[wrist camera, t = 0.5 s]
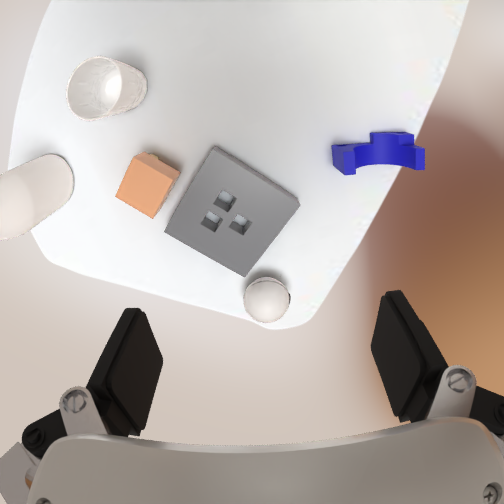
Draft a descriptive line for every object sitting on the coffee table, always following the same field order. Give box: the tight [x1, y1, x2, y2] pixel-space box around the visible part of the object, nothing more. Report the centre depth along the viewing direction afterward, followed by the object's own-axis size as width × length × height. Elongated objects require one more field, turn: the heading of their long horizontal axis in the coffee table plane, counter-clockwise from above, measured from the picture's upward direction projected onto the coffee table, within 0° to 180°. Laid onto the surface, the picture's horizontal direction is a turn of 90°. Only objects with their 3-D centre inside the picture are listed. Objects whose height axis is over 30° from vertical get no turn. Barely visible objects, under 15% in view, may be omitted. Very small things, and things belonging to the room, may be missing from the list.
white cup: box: [66, 56, 147, 121], centre depth 30 cm, size 8×8×10 cm
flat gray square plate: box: [164, 146, 300, 277], centre depth 42 cm, size 14×14×3 cm
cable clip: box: [332, 132, 425, 175], centre depth 36 cm, size 12×4×6 cm, turn 99°
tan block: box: [115, 152, 181, 219], centre depth 38 cm, size 6×6×7 cm
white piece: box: [244, 276, 290, 323], centre depth 46 cm, size 10×7×7 cm
